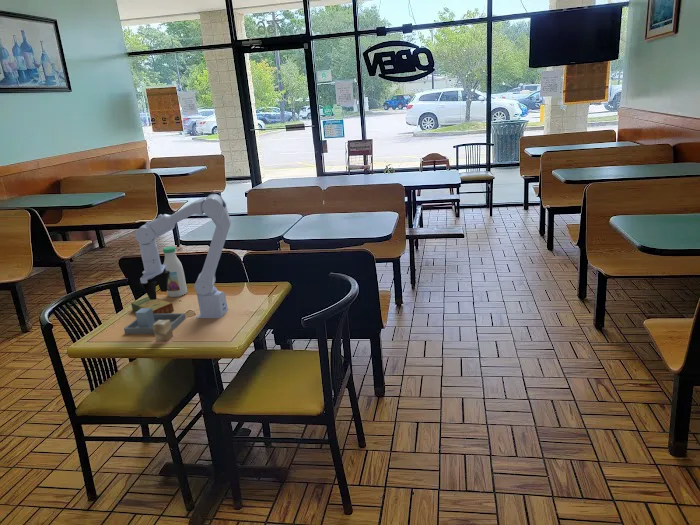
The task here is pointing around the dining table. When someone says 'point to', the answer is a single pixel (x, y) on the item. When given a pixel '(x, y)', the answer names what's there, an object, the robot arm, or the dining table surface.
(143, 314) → the slate block
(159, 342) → the terracotta pad
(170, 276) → the milk bottle
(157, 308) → the carton
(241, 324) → the dining table surface
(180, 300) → the dining table surface
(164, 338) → the oak block
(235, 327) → the dining table surface
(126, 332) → the parts tray
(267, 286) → the dining table surface
